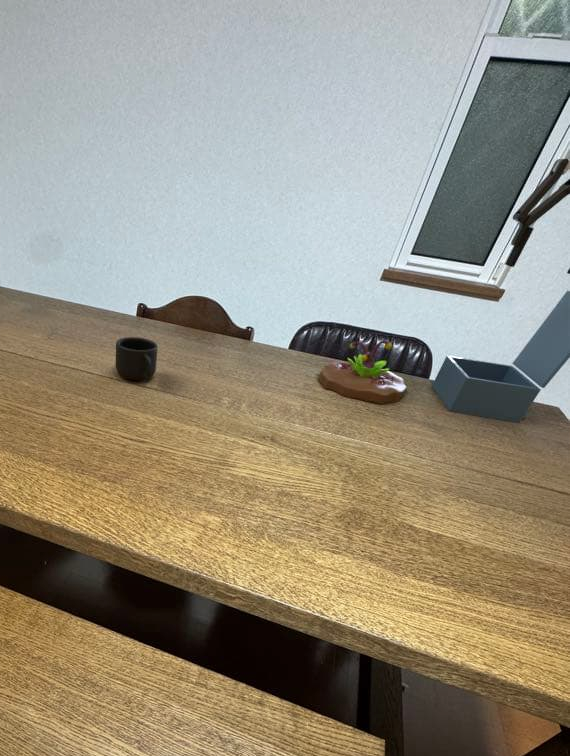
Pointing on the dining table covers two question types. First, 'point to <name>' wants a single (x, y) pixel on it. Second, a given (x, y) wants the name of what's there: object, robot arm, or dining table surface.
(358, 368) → the plant
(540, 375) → the lid
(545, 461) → the dining table surface
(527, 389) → the chest
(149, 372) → the mug
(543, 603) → the dining table surface
